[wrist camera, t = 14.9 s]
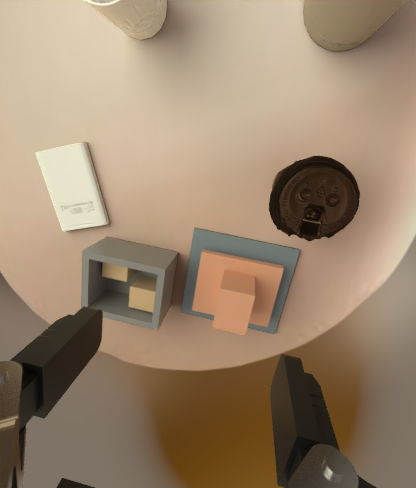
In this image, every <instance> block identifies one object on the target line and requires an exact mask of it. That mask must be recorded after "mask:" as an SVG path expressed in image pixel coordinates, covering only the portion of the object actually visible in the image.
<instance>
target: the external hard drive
mask: <svg viewBox="0 0 416 488" xmlns="http://www.w3.org/2000/svg"><path fill="white" fill-rule="evenodd" d="M36 156H37V159H38V162H39V165H40V167H41V170H42V173H43V176H44V179H45V182H46V185H47V187H48V190H49V193H50V196H51V199H52V202H53V205H54V208H55V210H56V213H57V216H58V219H59V222H60V225H61V228H62V231H68V230H75V229H81V228H88V227H95V226H101V225H107V224H109V219H108V216H107V212H106V208H105V205H104V201H103V198H102V194H101V191H100V188H99V184H98V181H97V177H96V174H95V170H94V167H93V163H92V160H91V156H90V153H89V149H88V146H87V142H80V143H75V144H70V145H66V146H61V147H57V148H52V149H48V150H43V151H39V152H36Z"/></svg>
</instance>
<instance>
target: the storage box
mask: <svg viewBox="0 0 416 488" xmlns="http://www.w3.org/2000/svg"><path fill="white" fill-rule="evenodd" d="M177 258H178V252H176V251H171V250H167V249H162V248H157V247H153V246H148V245H143V244H139V243H134V242H129V241H125V240H120V239H116V238H111V237H106V238H104V239H102V240H101V241H99V242H97V243H95V244H94V245H92V246H90V247H88V248H86V249H85V250H83V251H82V296H81V308H82V307H84V306H87V307H91V308H95V309H100V310H102V312H103V317H104V318H108V319H112V320H116V321H121V322H125V323H129V324H133V325H137V326H141V327H145V328H149V329H154V330H158V329H159V327H160V325H161V323H162V321H163V319H164V317H165V315H166V314H167V312H168V310H169V308H170V306H171V300H172V293H173V286H174V279H175V272H176V265H177Z"/></svg>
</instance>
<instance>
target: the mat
mask: <svg viewBox="0 0 416 488" xmlns="http://www.w3.org/2000/svg"><path fill="white" fill-rule="evenodd" d="M203 249H204V250H209V251H214V252H219V253H223V254H228V255H233V256H238V257H243V258H248V259H253V260H258V261H262V262H267V263H272V264H277V265H282V266H283V268H284V270H283V274H282V277H281V281H280V284H279V288H278V292H277V295H276V299H275V302H274V306H273V310H272V313H271V317H270V320H269V324H268V327H264V326H259V325H255V324H250V323H248V327H247V328H251V329H255V330H259V331H263V332H268V333H272V334H275V332H276V328H277V325H278V322H279V318H280V315H281V312H282V309H283V305H284V302H285V299H286V295H287V292H288V289H289V285H290V282H291V279H292V275H293V272H294V269H295V266H296V262H297V259H298V256H299V252H300V249H295V248H290V247H286V246H281V245H276V244H271V243H266V242H261V241H257V240H252V239H247V238H242V237H237V236H232V235H228V234H223V233H218V232H213V231H208V230H203V229H199V228H194V233H193V240H192V246H191V252H190V259H189V265H188V271H187V277H186V284H185V290H184V296H183V302H182V309H181V312H182V313H187V314H191V315H195V316H200V317H204V318H208V319H212V320H214V316H215V315H211V314H206V313H202V312H197V311H193V310H192V307H193V301H194V295H195V289H196V283H197V277H198V271H199V265H200V259H201V253H202V250H203Z"/></svg>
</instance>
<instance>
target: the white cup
mask: <svg viewBox="0 0 416 488" xmlns="http://www.w3.org/2000/svg"><path fill="white" fill-rule="evenodd" d="M84 1H85V2H87V3H88V4H89V5H90V6H92V7H93V8H94V9H95V10H96V11H98V12H99V13H100V14H101V15H102V16H104V17H105V18H106V19H107V20H109V21H110V22H111V23H113V24H114V25H115V26H116V27H118V28H120V29H121V30H123V31H124V32H125V33H126V34H127V35H129V36H130V37H133V38H136V39H139V40H143V39H147V38H151V37H153V36H154V35H155V34H156V33H157V32H158V31H159V30H160V29H161V28H162V25H163V23H164V21H165V18H166V13H167V0H84Z"/></svg>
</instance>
